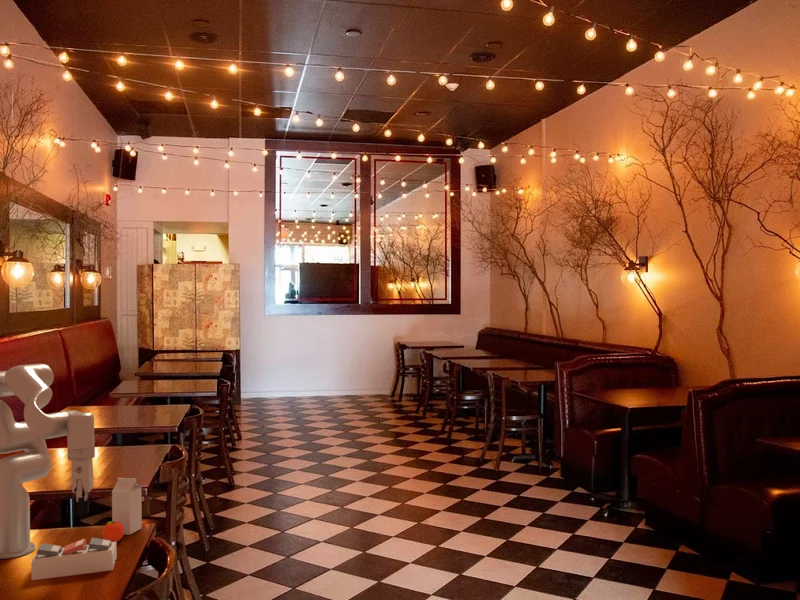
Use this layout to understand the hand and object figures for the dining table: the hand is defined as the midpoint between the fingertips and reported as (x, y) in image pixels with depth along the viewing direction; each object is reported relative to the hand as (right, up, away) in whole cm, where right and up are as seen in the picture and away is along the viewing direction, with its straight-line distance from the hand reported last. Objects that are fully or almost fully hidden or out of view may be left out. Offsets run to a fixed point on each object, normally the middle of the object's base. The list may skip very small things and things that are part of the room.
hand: (82, 513), depth 202 cm
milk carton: (-1, -18, +34) cm, 39 cm away
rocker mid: (-2, -10, -1) cm, 10 cm away
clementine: (-1, -18, +24) cm, 30 cm away
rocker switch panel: (-2, -17, +1) cm, 17 cm away
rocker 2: (+5, -10, +2) cm, 11 cm away
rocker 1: (-9, -10, -3) cm, 14 cm away
